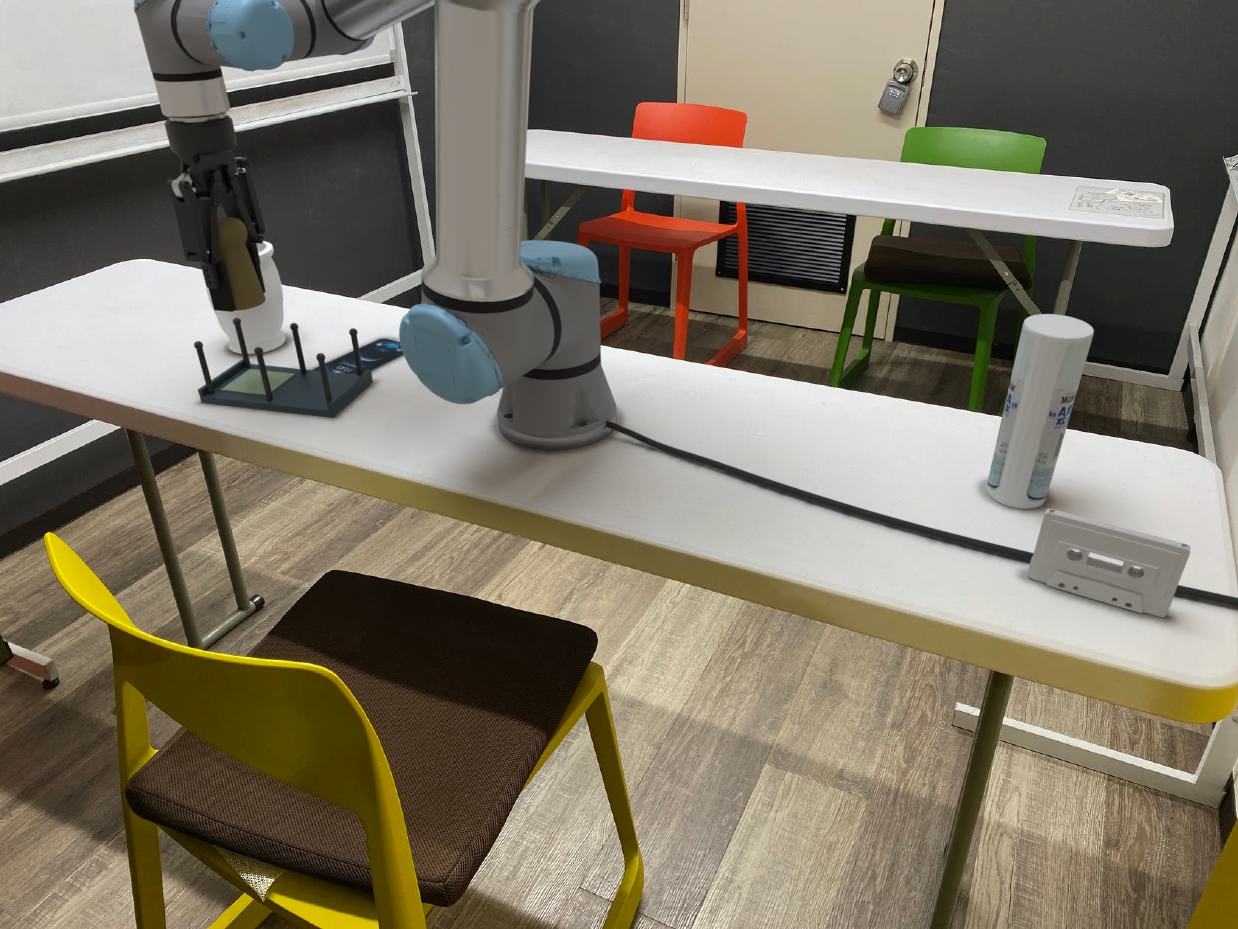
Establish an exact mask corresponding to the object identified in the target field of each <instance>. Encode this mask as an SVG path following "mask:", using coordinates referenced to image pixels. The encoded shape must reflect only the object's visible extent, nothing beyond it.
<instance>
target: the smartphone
mask: <svg viewBox="0 0 1238 929" xmlns="http://www.w3.org/2000/svg"><path fill="white" fill-rule="evenodd" d="M359 350H360V356H361V362H362V367H363V373H364V372H365V371H366V370H367V369H369V370H371V373H372V372H374V371H375V370H377V369H379V368H381V367H383V366H385V365H387V364H389V363H391V362H393V361H396V360H398V359H400V358H401V357H404V354H403V351H402V348H401V344H400V341H397V340H392V339H390V338H379V339H376V340H374V341H371V342H369V343H367V344H366V345H363V346H361V347H359ZM325 364H326V370H327V372H336V373H345V374H355V375H358V373H357V368H356V362H355V356H354V351H353V350H352V351H350V352H348V353H345V354H343V355H341V356H339V357H337V358H334V359H332V360H330V361H328V362H325ZM312 370H316V371H320V368H319V366H317V367H314V368H313V369H312Z"/></svg>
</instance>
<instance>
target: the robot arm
mask: <svg viewBox="0 0 1238 929" xmlns="http://www.w3.org/2000/svg"><path fill="white" fill-rule="evenodd" d="M539 2H541V0H133V4H134V6H133V11H134V14H135V16H136V19H137V23H138V27H139V31H140V35H141V38H142V41H143V45H144V50H145V53H146V57H147V60H148V64H149V68H150V72H151V74H152V78H153V81H154V85H155V90H156V93H157V97H158V102H159V106H160V110H161V113H162V115H163V116H164V117H167V119H166V120H165V122H164V129H165V133H166V136H167V140H168V144H169V148H170V150H171V152H172V153H174V154H175V155H177V156H178V157H179V159H180V175H179V176H178V177H177V178H176V179H167V180H166V182H165V186H166V189H167V191H168V193H169V196H170V197H171V199H172V202H173V203H172V204H173V206H174V207H173V208H174V212H175V216H176V221H177V227H178V231H179V236H180V240H181V246H182V251H183V254H184V258H185V261H186V262H188V263H196V264H197V263H198V264H199V265H200V267H201V271H202V275H203V279H204V284H205V287H206V286H207V288H209V292H210V296H211V300H212V304H213V308H214V310H217V311H228V312H233V311H235V310H236V308H235V304H234V300H233V295H232V291H231V287H230V283H229V278H228V274H227V270H226V266H225V262H224V261H219V249H218V222H217V218H218V208H219V207H220V206H221V207H222V210H223V212H224V214H225V217H232V218H237V219H240V220H241V221H242V222H243V223H244V224H245V226H246V229H247V240H246V243H245V245H246V247H247V250H248V253H249V255H250V258H251V261H252V263H253V266H254V269H255V271H256V274H257V277H258V280H259V282H260V285H261V288H262V290H263V293H265V292H266V291H265V286H264V282H263V277H262V273H261V268H260V258H259V253H258V248H257V244H256V243H260V244H262V243H263V241H265V240H264V234H265V233H266V227H265V223H264V218H263V215H262V211H261V207H260V203H259V199H258V196H257V191H256V187H255V183H254V178H253V169H252V166H253V165H252V159H251V158H249V157H240V156H235V155H234V153H233V151H234V150H235V149H236V148H237V146H238V140H237V136H236V135H237V134H236V130H235V126H234V121H233V118H232V117H231V116H230V115H228V114H227V113H228V112H229V111H230V109H231V105H230V101H229V97H228V96H229V95H228V92H227V88H226V84H225V79H224V75H223V70H222V67H225V68H234V69H239V70H243V71H246V72H255V71H272V70H276V69H278V68H280V67H281V66H282V65H283V64H284V63H289V62H295V61H296V62H297V61H300V60H302V61H303V60H306V59H313V58H321V57H329V56H335V55H336V56H348V55H349V54H353V53H356V52H359V51H363V50H365V49H366V50H367V49H368V48H369V47H370V46H371V45H372V44H373V42H374V40H375V38H376V36H377V34H379V33H382V32H384V31H385V30H387V29H389V28H391V27H393V26H395V25H397V24H399V23H401V22H403V21H406V20H408V19H409V18H411V17H414V16H415V15H417V14H419V13H421V12H423V11H425V10H427V9H429V8H431V7H433V6H434V92H435V93H434V96H435V97H434V98H435V100H434V102H435V103H434V105H435V107H434V108H435V109H434V110H435V112H434V113H435V115H434V117H435V118H434V119H435V125H434V126H435V132H434V133H435V246H436V247H435V255H434V257H432V258H431V259H430V260H428V261H427V262H426V263H425V264H424V265H423V266H422V269H421V273H420V275H421V276H420V278H421V302H420V304H415V305H412V307H411V308H410V309H409V310H408V312H407V313H405V314H404V315H403V316H402V318H401V321H400V325H399V330H398V338H399V342H400V344H401V348H402V351H403V354H404V355H403V357H404V359H405V360H406V361H405V362H406V363H407V365H408V366H409V368H410V370H411V372H412V373H414V374H415V376H416V377H417V378H418V380H419V382H420V383H421V384H422V385H423V386H424V387H425V388H426V389H428V391H430V392H431V393H433V395H435V396H437V397H439V398H441V399H442V400H444V401H446V402H449V403H452V404H456V405H471V404H474V403H477V402H480V401H481V400H484V399H485V398H487V397H491V396H494V395H496V394H498V393H499V392H500V391H501V394H500V398H499V402H498V407H497V409H496V410H497V411H496V416H497V426H498V429H499V431H500V433H501V434H502V435H503V436H504V437H505V438H506V439H508V440H509V441H511V442H512V443H514V444H517V445H519V446H523V447H527V448H531V449H539V450H553V451H554V450H567V449H573V448H574V449H575V448H579V447H583V446H587V445H591V444H593V443H595V442H598V441H599V440H601V439H603V438H605V437H606V436H607V435H609V434H610V433H611V432H612V431H616V432H618V433H620V434H623V435H625V436H628V437H630V438H632V439H635V440H637V441H639V442H641V443H643V444H645V445H647V446H650V447H652V448H655V449H658V450H660V451H663V452H665V453H667V454H671V455H675V456H677V457H680V458H683V459H687V460H690V461H693V462H696V463H699V464H702V465H706V466H708V467H712V468H714V469H718V470H719V471H723V472H725V473H729V474H732V475H735V476H737V477H741V478H742V479H746V480H748V481H752V482H755V483H757V484H760V485H763V486H765V487H769V488H772V489H775V490H777V491H781V492H785V493H786V494H790V495H793V496H796V497H799V498H801V499H802V498H803V499H805V500H809V501H812V502H814V503H818V504H820V505H824V506H827V507H830V508H834V509H837V510H840V511H844V512H847V513H850V514H853V515H857V516H859V517H864V518H867V519H870V520H874V521H876V522H880V523H883V524H887V525H891V526H895V527H899V528H902V529H906V530H910V531H913V532H916V533H920V534H924V535H928V536H931V537H935V538H939V539H942V540H946V541H950V542H954V543H958V544H962V545H965V546H969V547H973V548H977V549H981V550H985V551H990V552H994V553H997V554H1001V555H1006V556H1010V557H1014V558H1017V559H1022V560H1026V561H1030V562H1031V559H1032V557H1033V554H1034V552H1032V551H1026V550H1022V549H1018V548H1013V547H1009V546H1006V545H1001V544H997V543H994V542H988V541H984V540H980V539H976V538H973V537H969V536H965V535H961V534H957V533H953V532H949V531H946V530H945V531H944V530H941V529H938V528H933V527H930V526H927V525H922V524H920V523H919V524H918V523H915V522H911V521H908V520H904V519H901V518H897V517H893V516H890V515H887V514H883V513H879V512H875V511H873V510H869V509H865V508H862V507H858V506H855V505H852V504H849V503H846V502H842V501H838V500H835V499H832V498H829V497H825V496H822V495H819V494H816V493H813V492H810V491H806V490H803V489H800V488H797V487H794V486H791V485H788V484H785V483H782V482H780V481H776V480H773V479H770V478H766V477H765V476H764V477H763V476H761V475H758V474H755V473H753V472H749V471H746V470H743V469H740V468H738V467H735V466H732V465H729V464H727V463H724V462H720V461H718V460H715V459H711V458H708V457H706V456H702V455H700V454H696V453H692V452H689V451H686V450H682V449H679V448H677V447H674V446H671V445H668V444H665V443H662V442H660V441H657V440H655V439H652V438H650V437H648V436H645V435H643V434H641V433H640V432H637V431H634V430H632V429H629V428H628V427H625V426H622V425H620V424H617V404H616V401H615V398H614V395H613V393H612V390H611V387H610V385H609V382H608V379H607V377H606V374H605V370H604V369H603V366H602V346H601V344H602V343H601V341H602V340H601V338H602V337H601V302H600V301H601V294H600V293H601V292H600V290H601V289H600V288H601V287H600V284H601V283H602V280H601V278H600V272H599V271H600V270H599V261H598V258H597V255H596V254H595V253H594V252H593V251H592V250H590V249H589V248H587V247H586V246H583V245H580V244H577V243H571V242H566V241H557V240H537V239H536V240H535V239H534V240H533V239H532V240H523V221H524V201H525V200H524V199H525V182H526V181H525V179H526V163H527V162H526V160H527V159H526V158H527V141H528V125H529V104H530V102H529V101H530V85H531V84H530V82H531V64H532V44H533V43H532V41H533V25H534V23H533V21H534V9H535V7H536V6H537V4H538V3H539ZM207 251H208V252H209V253H208V252H207ZM213 308H212V309H213ZM214 310H213V311H214ZM1175 594H1178V595H1182V596H1187V597H1191V598H1192V597H1193V598H1197V599H1200V600H1205V601H1211V602H1215V603H1219V604H1224V605H1229V606H1232V607H1237V608H1238V597H1236V596H1232V595H1227V594H1222V593H1217V592H1213V591H1208V590H1203V589H1199V588H1194V587H1189V586H1184V585H1180V584H1178V586H1177V588H1176V591H1175Z"/></svg>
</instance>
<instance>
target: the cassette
mask: <svg viewBox="0 0 1238 929" xmlns="http://www.w3.org/2000/svg"><path fill="white" fill-rule="evenodd" d="M1033 553H1034V554H1033V557H1032V559H1031V561H1030V562H1029V566H1028V570H1027V576H1028V579H1031V580H1034V581H1037V582H1040V583H1044V584H1046V586H1047V587H1050V588H1053V589H1057V590H1061V591H1064V592H1068V593H1072V594H1074V595H1078V596H1082V597H1084V598H1088V599H1091V600H1095V601H1098V602H1100V603H1101V602H1102V603H1105V604H1109V605H1112V606H1116V607H1118V608H1121V609H1125V610H1130V611H1132V612H1136V613H1139V614H1143V613H1145V614H1149V615H1151V616H1156V617H1159V618H1165V617H1166V616H1167V615H1168V613H1169V610H1170V608H1171V605H1172V602H1173V600H1174V596H1175V594H1176V593H1175V591H1176V588H1177V586H1178V585H1179V583H1180V581H1181V578H1182V575H1183V573H1184V570H1185V568H1186V565H1187V563H1188V560H1189V558H1190V554H1191V546H1190V545H1189V544H1188V543H1183V542H1181V541H1177V540H1172V539H1169V538H1165V537H1161V536H1157V535H1153V534H1150V533H1147V532H1146V533H1145V532H1142V531H1138V530H1134V529H1130V528H1126V527H1124V526H1123V527H1122V526H1118V525H1114V524H1111V523H1107V522H1104V521H1103V522H1102V521H1099V520H1096V519H1091V518H1088V517H1084V516H1080V515H1076V514H1072V513H1069V512H1065V511H1060V510H1057V509H1053V508H1047V509H1046V510H1045V512H1044V515H1043V518H1042V522H1041V526H1040V529H1039V533H1038V536H1037V540H1036V544H1035V547H1034V550H1033ZM1091 553H1092V554H1094V555H1098V556H1102V557H1106V558H1110V559H1113V560H1117V561H1120V562H1123V564H1122V565H1120V564H1118V563H1114V562H1110V561H1106V560H1103V559H1100V558H1096V557H1091V556H1089V555H1090V554H1091Z"/></svg>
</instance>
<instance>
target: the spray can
mask: <svg viewBox="0 0 1238 929" xmlns="http://www.w3.org/2000/svg"><path fill="white" fill-rule="evenodd" d="M1094 333H1095V330H1094V328H1093V327H1092V325H1090V324H1089V323H1087V322H1086V321H1083V320H1082V319H1080V318H1079V319H1078V318H1076V317H1073V316H1068V315H1062V314H1055V313H1039V314H1033V315H1030V316H1028V317H1026V318H1025V319H1024V321H1023V323H1022V328H1021V332H1020V337H1019V341H1018V344H1017V350H1016V354H1015V358H1014V362H1013V367H1012V372H1011V376H1010V381H1009V385H1008V389H1007V394H1006V398H1005V403H1004V407H1003V411H1002V416H1001V419H1000V420H1001V421H1000V425H999V429H998V434H997V438H996V443H995V446H994V451H993V455H992V461H991V464H990V468H989V473H988V477H987V482H986V492H987V495H988V496H989V497H990V498H991V499H992V500H994V501H995V502H997V503H999V504H1001V505H1003V506H1006V507H1010V508H1015V509H1019V510H1021V509H1022V510H1030V509H1032V510H1033V509H1035V508H1039V507H1041V506H1042V505H1043V504H1044V503H1045V501H1046V500H1047V497H1048V495H1049V490H1050V487H1051V483H1052V481H1053V480H1052V479H1053V476H1054V473H1055V469H1056V465H1057V462H1058V459H1059V456H1060V452H1061V448H1062V446H1063V442H1064V438H1065V435H1066V432H1067V428H1068V424H1069V420H1070V417H1071V413H1072V410H1073V407H1074V403H1075V400H1076V397H1077V393H1078V390H1079V386H1080V382H1081V380H1082V376H1083V375H1082V374H1083V372H1084V368H1085V365H1086V362H1087V358H1088V355H1089V351H1090V348H1091V345H1092V341H1093V338H1094Z"/></svg>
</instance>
